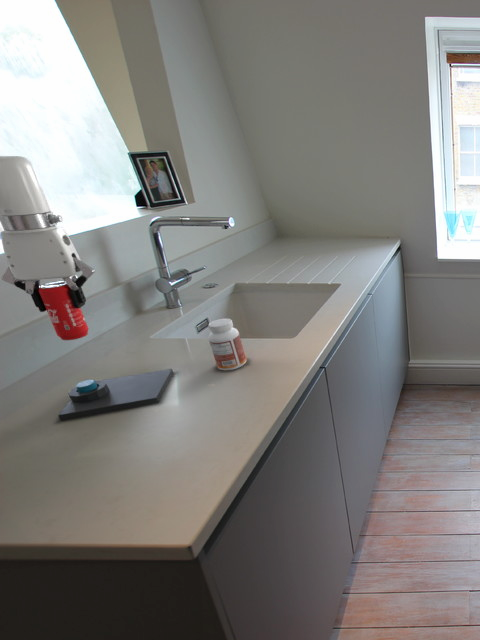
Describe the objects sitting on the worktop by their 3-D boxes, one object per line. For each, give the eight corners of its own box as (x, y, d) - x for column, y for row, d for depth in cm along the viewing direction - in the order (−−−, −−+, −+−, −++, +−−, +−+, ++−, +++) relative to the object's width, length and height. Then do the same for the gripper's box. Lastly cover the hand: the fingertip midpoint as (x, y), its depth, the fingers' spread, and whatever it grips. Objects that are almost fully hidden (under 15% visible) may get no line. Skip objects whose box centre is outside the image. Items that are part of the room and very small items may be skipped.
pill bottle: (237, 356, 109) (225, 315, 105) (252, 362, 106) (241, 320, 102) (212, 367, 104) (198, 324, 100) (227, 373, 102) (214, 330, 97)
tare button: (76, 395, 89) (73, 388, 88) (82, 387, 92) (79, 381, 91) (94, 391, 90) (91, 385, 89) (100, 384, 93) (97, 378, 92)
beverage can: (87, 338, 97) (66, 285, 92) (56, 343, 95) (33, 289, 90) (92, 330, 101) (73, 279, 96) (62, 334, 99) (41, 282, 94)
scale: (60, 421, 85) (54, 408, 84) (88, 388, 96) (82, 376, 95) (158, 403, 91) (153, 390, 90) (174, 373, 102) (170, 362, 101)
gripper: (89, 217, 94) (118, 298, 101) (-17, 221, 88) (21, 307, 96) (74, 223, 88) (105, 308, 95) (-42, 228, 82) (1, 319, 89)
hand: (63, 307), depth 95 cm, fingers closed on beverage can, 5 cm apart
